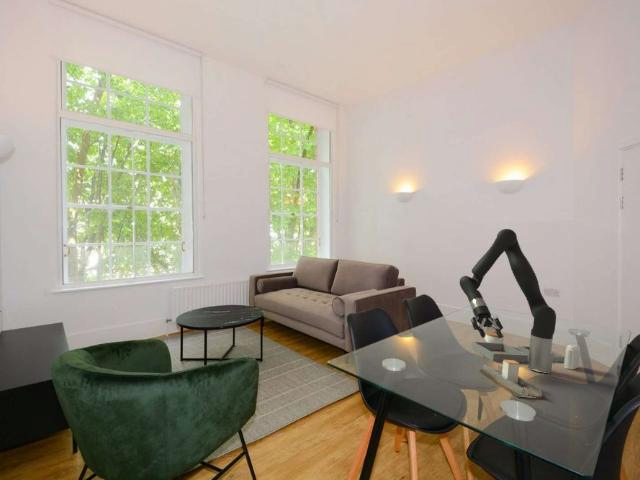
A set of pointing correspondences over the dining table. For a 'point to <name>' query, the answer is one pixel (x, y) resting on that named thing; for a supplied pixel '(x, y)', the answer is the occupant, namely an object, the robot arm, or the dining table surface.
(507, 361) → the block
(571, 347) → the white ridged block
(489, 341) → the lidded jar
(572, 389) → the dining table surface
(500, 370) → the rail board
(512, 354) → the large tray rim
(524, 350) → the small tray rim
